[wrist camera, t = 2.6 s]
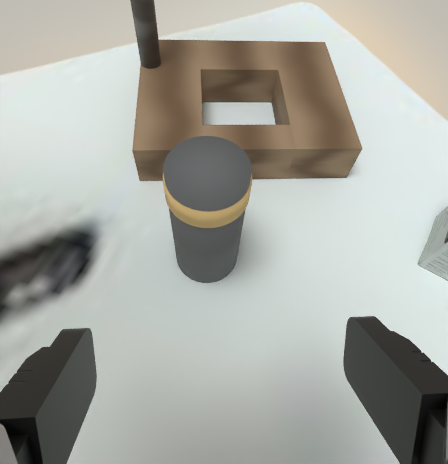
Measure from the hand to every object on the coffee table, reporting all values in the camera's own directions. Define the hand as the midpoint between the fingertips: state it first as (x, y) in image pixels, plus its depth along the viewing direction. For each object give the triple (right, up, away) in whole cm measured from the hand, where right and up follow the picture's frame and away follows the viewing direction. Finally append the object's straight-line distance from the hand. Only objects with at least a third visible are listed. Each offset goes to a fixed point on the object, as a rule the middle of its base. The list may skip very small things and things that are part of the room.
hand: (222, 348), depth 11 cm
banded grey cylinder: (-1, +2, +18) cm, 18 cm away
